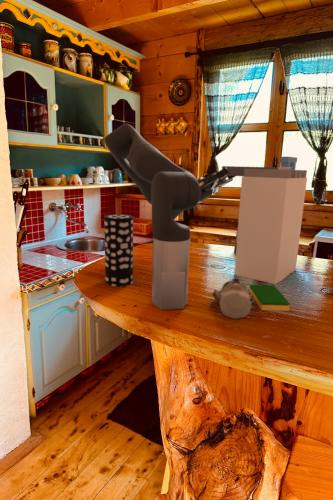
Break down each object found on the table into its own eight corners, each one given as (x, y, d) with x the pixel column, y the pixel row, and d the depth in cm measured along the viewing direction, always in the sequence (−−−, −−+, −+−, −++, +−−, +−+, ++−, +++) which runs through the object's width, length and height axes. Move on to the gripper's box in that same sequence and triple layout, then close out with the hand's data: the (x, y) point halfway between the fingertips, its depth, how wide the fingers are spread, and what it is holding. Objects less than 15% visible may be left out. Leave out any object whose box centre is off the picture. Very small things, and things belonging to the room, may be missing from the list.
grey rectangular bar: (291, 178, 102) (292, 167, 102) (287, 178, 100) (288, 167, 99) (226, 175, 115) (226, 165, 115) (221, 175, 113) (222, 165, 112)
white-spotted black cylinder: (136, 279, 106) (137, 215, 101) (126, 288, 98) (126, 219, 93) (112, 276, 108) (111, 213, 103) (100, 284, 100) (99, 217, 95)
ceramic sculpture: (214, 284, 77) (213, 269, 91) (211, 320, 78) (211, 300, 93) (262, 288, 75) (254, 272, 90) (258, 325, 77) (251, 303, 92)
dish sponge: (261, 311, 85) (262, 302, 85) (248, 291, 99) (249, 284, 98) (289, 312, 85) (290, 303, 85) (272, 292, 99) (273, 284, 98)
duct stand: (295, 269, 120) (309, 157, 111) (275, 284, 104) (289, 155, 95) (258, 262, 128) (268, 157, 119) (234, 274, 113) (243, 155, 103)
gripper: (181, 183, 117) (218, 159, 106) (202, 182, 128) (238, 160, 117) (189, 203, 116) (228, 180, 106) (210, 200, 127) (247, 180, 117)
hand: (233, 170), depth 112 cm, fingers open, 8 cm apart
